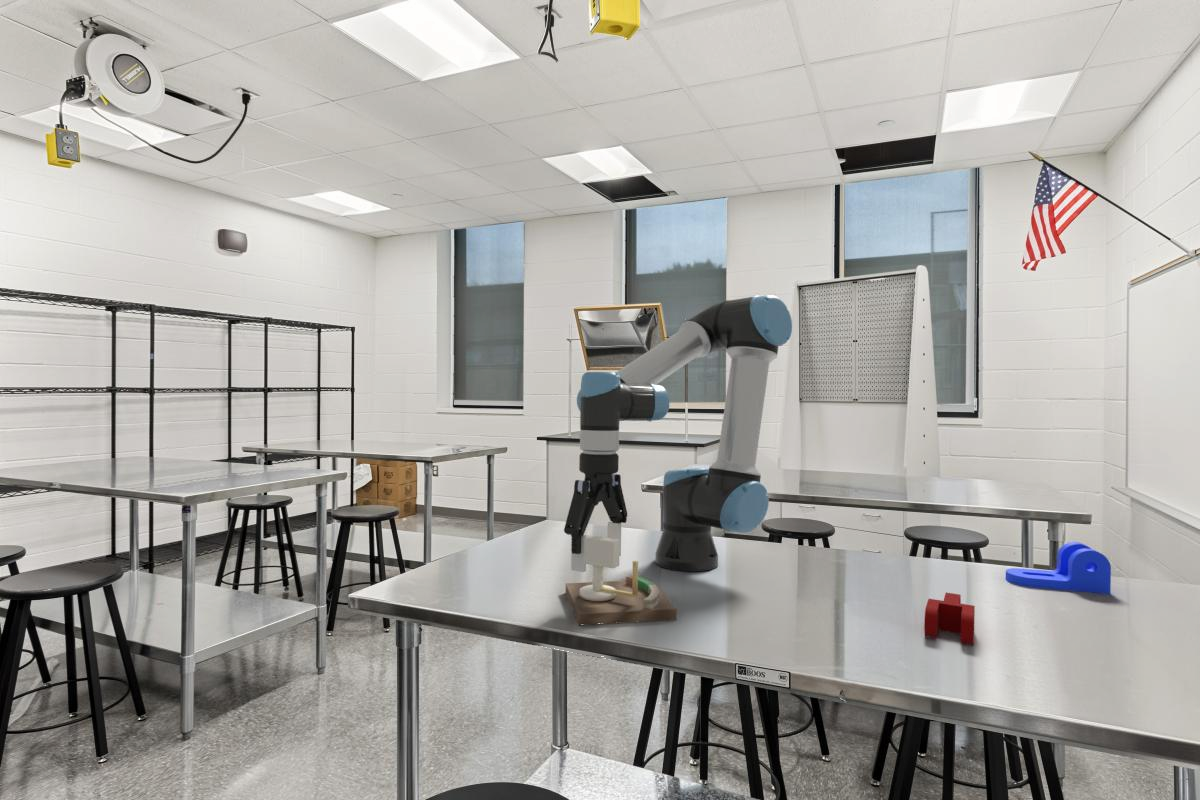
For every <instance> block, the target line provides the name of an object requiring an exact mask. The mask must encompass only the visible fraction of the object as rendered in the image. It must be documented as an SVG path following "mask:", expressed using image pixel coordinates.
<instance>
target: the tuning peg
mask: <svg viewBox="0 0 1200 800" xmlns="http://www.w3.org/2000/svg"><path fill="white" fill-rule="evenodd" d="M585 535H586V536H587V542H586V565H588V566H589V565H591V566H592V582H593V585H587V586H584V587H582V588H580V597H581V598H583V599H585V600H590V601H606V600H611V599H613V598H615V597H616V594H618V595H623V596H628V597H634V598H637V597H638V577H639V561H638V560H633V561H632V575H633V582H632V592H627V591H621V590H616V589H615V588H613V587H611V586H607V585H603V582H604V568H607V569H615V568H617V567H619V566H620V556H619V548H620V539H612V538H608V537H603V536H596V535H591V534H590V535H589V534H585Z"/></svg>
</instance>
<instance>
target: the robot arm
mask: <svg viewBox="0 0 1200 800" xmlns="http://www.w3.org/2000/svg"><path fill="white" fill-rule="evenodd" d="M792 321H793V319H792V317H791V313H790V311H789V309H788V306H787V305H786V304H785V303H784V301H783V300H782V299H781V298H780V297H777V296H775V295H773V294H772V295H771V294H769V295H768V294H767V295H764V294H763V295H760V294H757V295H754V296H750V297H749V296H748V297H743V298H736V299H730V300H729V299H728V300H722V301H719V302H717V303H715V304H712V305H711V306H709V307H706V308H705V309H704V310H702V311H700V312H698V313H697V314H695V315H694V316H692V317H690V318H689V319H687V320H686V321H685V322H683V323H682V324H681V325H680V326H679V328H678V331H677V332H675V333H674V334H673V335H671V336H669V337H668V338H666V339H665V340H663V341H662V342H660V343H659V344H657V345H655V346H654V347H652V348H651V349H649V350H648V351H646V352H645V353H643V354H642V355H640V356H638V357H637V358H635V359H634V360H633V361H631V362H629V363H628V364H627V365H625V366H623V367H622V368H620V369H619V370H617V371H616V372H614V371H586V372H584V373H583V375H582V376H581V381H580V389H579V391H578V393H577V396H576V405H577V408H578V410H579V411H580V412H579V413H580V415H579V417H580V418H579V426H580V427H579V428H580V434H579V449H580V450H581V451H582V452H580V454H579V458H578V459H579V467H578V470H579V472H580V473H583V474H584V480H580V479H576V480H575V481H574V486H573V487H574V488H573V494H572V499H571V502H570V506H569V510H568V513H567V517H566V521H565V524H564V527H563V528H564V529H563V531H564V533H565V534H566V535H568V536H569V535H570V536H571V545H570V546H571V549H570V551H571V559H570V562H571V566H570V569H571V571H576V572H581V573H586V572H587V564H586V542H587V536H586V535H587V534H585V532H586V529H587V528H588V524H589V522H590V519H591V517H592V514H593V512H594V509H595V507H596V506H598V504H599V503H602V504H603V507H604V510H605V512H606V514H607V516H608V518H609V521H608V522H607V538H612V539H620V548H619V557H621V554H622V523H623V524H626V523H627V519H628V509H627V506H626V501H625V497H624V494H623V489H622V479H621V476H622V475H621V474H617V473H618V472H619V459H620V457H619V454H618V453H617V451H619V450H620V422H623V421H627V422H628V421H629V422H631V421H632V422H653V421H660V420H662V419H664V418H665V417H666V415H667V414H668V412H669V410H670V403H671V402H670V395H669V392H668V391H667V389H666V388H665V387H664V386H663V385H660V384H659V383H662V382H663V381H664V380H665V379H667V378H668V377H669V376H671V375H672V374H674V373H675V372H677V371H678V370H680V369H682V368H683V367H684V366H686V365H687V364H689V363H690V362H691V361H693V360H694V359H696V358H704V357H706V356H707V355H709V354H710V353H712V352H715V351H720V350H725V352H726V353H727V355H728V356H729V357H730V359H731V361H730V367H729V375H728V381H727V388H726V394H725V402H724V410H723V416H722V424H721V431H720V437H719V443H718V450H717V451H718V452H717V459H716V461H715V462H714V463H712V464H710V465H709V467H701V468H700V467H699V468H698V467H696V468H682V469H681V468H680V469H670V470H668V471H665V473H664V475H663V485H662V532H661V536H660V539H659V542H658V545H657V548H656V551H655V560H654V561H655V564H656V565H657V566H659V567H661V568H664V569H669V570H672V571H673V570H674V571H679V572H680V571H681V572H702V571H709V570H713V569H715V568H717V567H718V566H719V554H718V551H717V547H716V544H715V541H714V538H713V534H712V528H716V529H720V530H724V531H726V532H729V533H730V532H731V533H739V534H745V533H746V534H747V533H750V532H753V531H755V529H757V527H758V526H759V525H761V523H762V522H763V521H764V519H765V517H766V515H767V512H768V510H769V504H770V503H769V502H770V498H769V494H768V490H767V488H766V487H765V486H764V485H763V484H762V482H761V478H762V475H761V473H760V471H759V470H758V469H757V466H756V463H757V455H758V447H759V440H760V434H761V425H762V418H763V411H764V405H765V398H766V396H765V395H766V389H767V383H768V382H767V381H768V375H769V368H770V367H769V366H770V363H771V362H772V361H774V360H776V359H777V358H778V352H779V347H782V346H783V345H785V344H786V343H787V342H788V341H789V340H790V339H791V336H792V331H793V322H792Z"/></svg>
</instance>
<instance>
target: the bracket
mask: <svg viewBox="0 0 1200 800" xmlns="http://www.w3.org/2000/svg"><path fill="white" fill-rule="evenodd" d="M1056 559H1057V560H1056V568H1055V569H1053V570H1044V569H1031V568H1029V569H1028V568H1019V567H1017V568H1007V569H1005V580H1006V582H1009V583H1011V584H1013V585H1017V586H1021V587H1029V588H1039V589H1049V590H1050V589H1051V590H1059V591H1060V590H1061V591H1071V592H1072V591H1073V592H1084V593H1096V594H1103V595H1104V594H1108V595H1111V589H1112V588H1111V585H1112V584H1111V578H1112V571H1111V570H1112V566H1111V562H1110V561H1109V559H1108V557H1107V556H1106V555H1104V554H1102V553H1101V552H1099V551H1097V550H1095V549H1092V548H1091V547H1090V546H1089V545H1086V544H1084V543H1081V542H1077V541H1072V542H1067V543H1065V544H1063V545H1062V546H1061V547H1059V549H1058V551H1057V555H1056Z"/></svg>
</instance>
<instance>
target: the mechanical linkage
mask: <svg viewBox="0 0 1200 800" xmlns="http://www.w3.org/2000/svg"><path fill="white" fill-rule="evenodd" d="M961 600H962V599H961V594H957V593H952V592H945V593H944V598H943V600H941V599H933V598H928V599H927V603H926V606H925V609H924V622H923V623H924V625H923V626H924V637H925V638H931V639H935V640H936V639H938V635H939V631H941V632H946V633H947V632H948V633H953V634H958V635H960V644H963V645H969V646H974V643H975V639H974V638H975V605H973V604H965V603H961V602H962V601H961Z"/></svg>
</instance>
